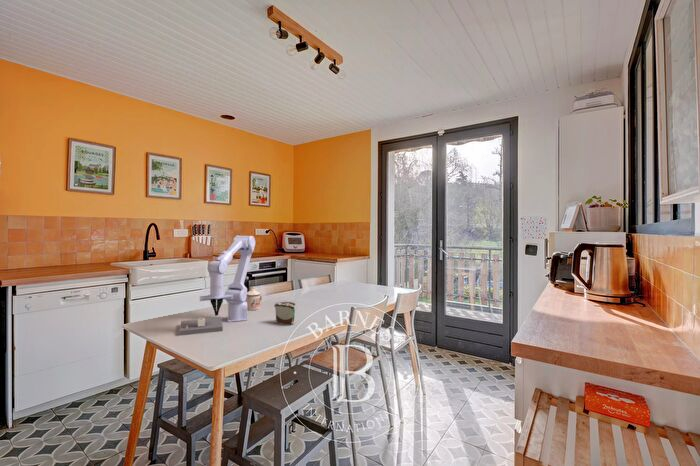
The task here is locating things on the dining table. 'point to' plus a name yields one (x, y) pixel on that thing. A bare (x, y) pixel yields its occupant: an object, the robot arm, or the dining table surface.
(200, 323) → the fader knob
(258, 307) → the teacup with lid
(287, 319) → the food container
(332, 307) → the dining table surface
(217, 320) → the console
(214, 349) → the dining table surface
